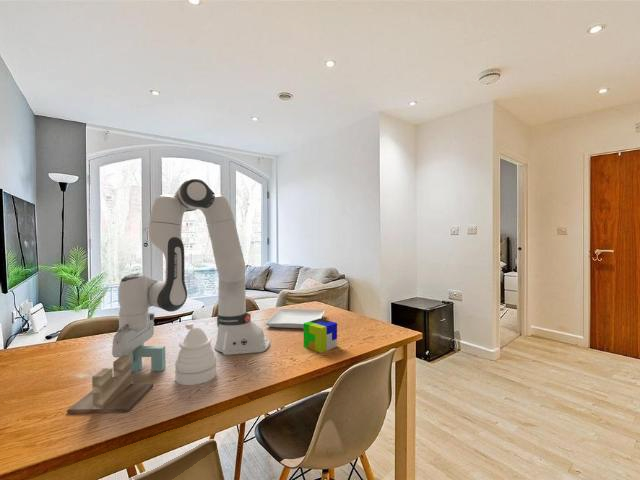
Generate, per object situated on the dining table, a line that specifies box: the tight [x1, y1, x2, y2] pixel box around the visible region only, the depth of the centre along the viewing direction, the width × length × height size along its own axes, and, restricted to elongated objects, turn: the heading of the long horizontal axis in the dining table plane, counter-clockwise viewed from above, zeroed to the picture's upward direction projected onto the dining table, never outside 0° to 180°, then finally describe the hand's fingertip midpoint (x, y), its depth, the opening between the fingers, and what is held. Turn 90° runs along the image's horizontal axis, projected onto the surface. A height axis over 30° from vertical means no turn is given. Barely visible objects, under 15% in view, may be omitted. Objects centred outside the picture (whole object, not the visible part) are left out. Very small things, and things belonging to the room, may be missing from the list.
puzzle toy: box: [303, 318, 338, 354], centre depth 134 cm, size 10×10×10 cm
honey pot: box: [174, 322, 217, 386], centre depth 107 cm, size 13×13×18 cm
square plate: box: [264, 308, 326, 330], centre depth 169 cm, size 27×27×4 cm
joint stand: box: [66, 355, 154, 414], centre depth 93 cm, size 16×14×10 cm
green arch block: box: [131, 345, 166, 372], centre depth 112 cm, size 12×2×8 cm, turn 92°
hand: (134, 359), depth 111 cm, fingers open, 4 cm apart
